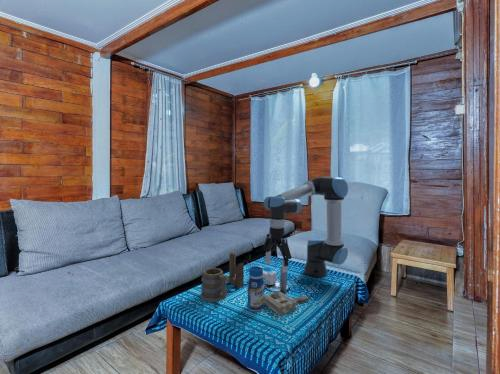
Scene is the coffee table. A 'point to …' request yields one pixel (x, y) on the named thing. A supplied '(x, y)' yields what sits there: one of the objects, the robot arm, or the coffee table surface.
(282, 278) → the peg
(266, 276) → the bone shaped toy
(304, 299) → the walnut slat
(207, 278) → the tankard
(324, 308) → the coffee table surface
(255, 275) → the beverage bottle
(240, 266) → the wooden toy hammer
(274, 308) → the socket block
